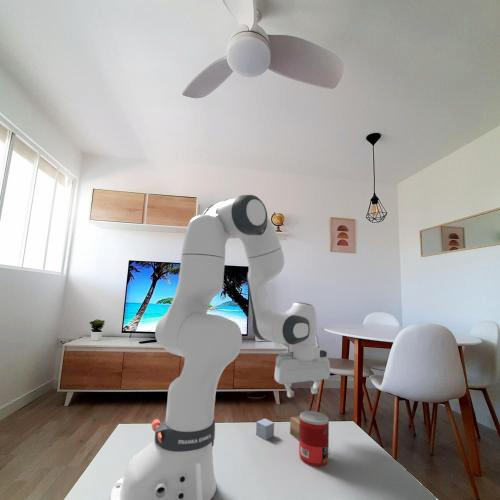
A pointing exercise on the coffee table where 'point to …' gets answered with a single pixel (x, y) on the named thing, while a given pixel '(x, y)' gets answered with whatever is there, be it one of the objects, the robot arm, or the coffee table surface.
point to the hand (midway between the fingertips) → (302, 394)
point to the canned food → (314, 438)
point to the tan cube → (295, 427)
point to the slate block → (265, 429)
